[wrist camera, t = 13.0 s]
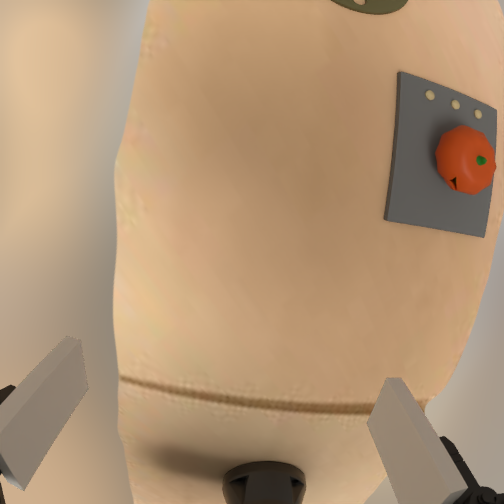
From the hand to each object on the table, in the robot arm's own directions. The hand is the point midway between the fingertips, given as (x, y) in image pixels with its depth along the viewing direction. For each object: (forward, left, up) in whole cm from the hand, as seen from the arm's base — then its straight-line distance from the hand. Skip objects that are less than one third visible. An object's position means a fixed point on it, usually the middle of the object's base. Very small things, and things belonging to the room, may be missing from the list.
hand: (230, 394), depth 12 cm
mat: (+14, -24, -25) cm, 37 cm away
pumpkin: (+14, -24, -24) cm, 36 cm away
